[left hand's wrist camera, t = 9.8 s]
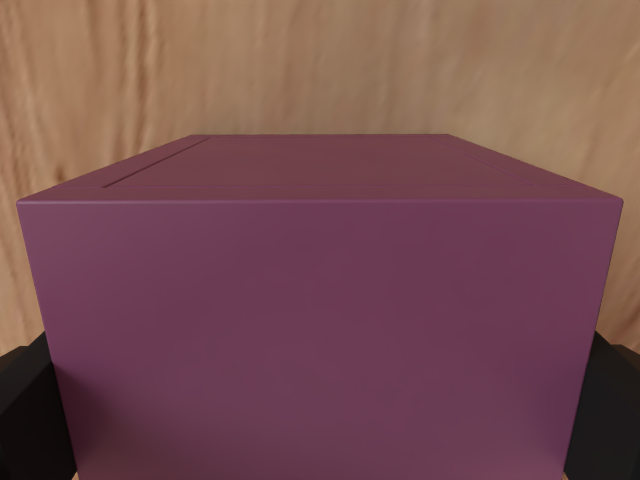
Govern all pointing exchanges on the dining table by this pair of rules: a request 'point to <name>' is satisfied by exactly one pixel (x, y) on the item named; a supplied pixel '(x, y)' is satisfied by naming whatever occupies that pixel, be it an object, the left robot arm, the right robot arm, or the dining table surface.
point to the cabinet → (320, 309)
